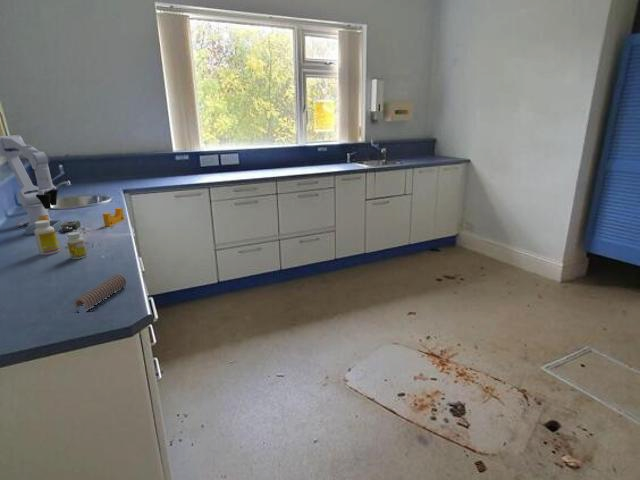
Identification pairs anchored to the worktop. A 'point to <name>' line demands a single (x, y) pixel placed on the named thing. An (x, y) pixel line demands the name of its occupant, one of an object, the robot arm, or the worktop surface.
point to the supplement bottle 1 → (46, 238)
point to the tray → (55, 224)
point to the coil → (101, 291)
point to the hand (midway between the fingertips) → (50, 206)
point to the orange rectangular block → (43, 218)
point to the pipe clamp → (113, 217)
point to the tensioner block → (70, 226)
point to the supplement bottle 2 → (76, 245)
